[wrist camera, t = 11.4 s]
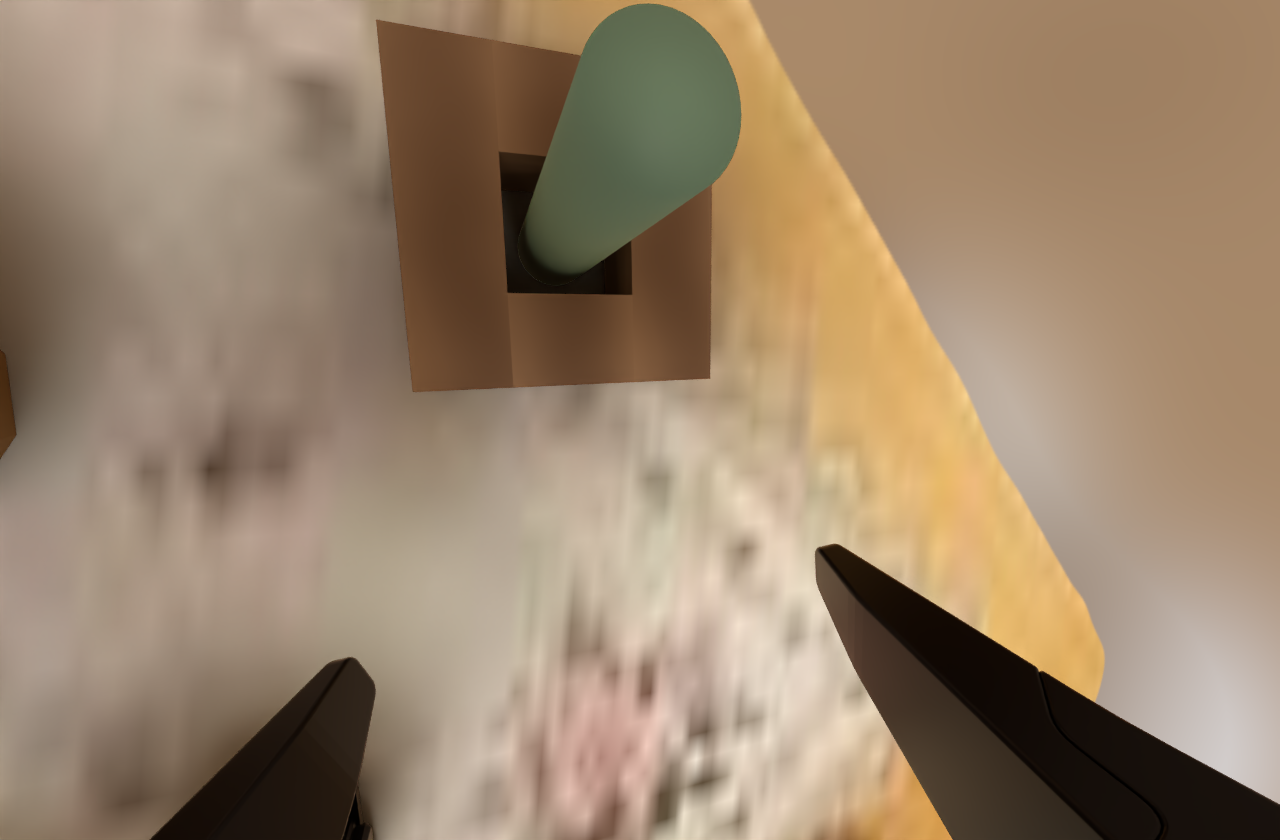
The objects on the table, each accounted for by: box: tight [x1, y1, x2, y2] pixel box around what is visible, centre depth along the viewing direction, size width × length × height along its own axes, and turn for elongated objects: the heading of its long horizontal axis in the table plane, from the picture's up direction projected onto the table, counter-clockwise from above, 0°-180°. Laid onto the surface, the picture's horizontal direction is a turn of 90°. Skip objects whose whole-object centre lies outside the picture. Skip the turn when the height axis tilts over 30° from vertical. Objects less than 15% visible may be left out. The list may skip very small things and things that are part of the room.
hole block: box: [376, 20, 712, 392], centre depth 18 cm, size 11×11×4 cm
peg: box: [518, 4, 741, 286], centre depth 14 cm, size 3×3×13 cm
